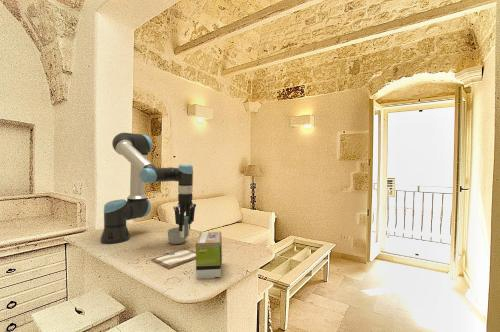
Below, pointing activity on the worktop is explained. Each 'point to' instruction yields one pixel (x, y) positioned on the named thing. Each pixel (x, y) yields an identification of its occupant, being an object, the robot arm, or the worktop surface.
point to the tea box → (209, 255)
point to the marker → (185, 226)
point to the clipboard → (175, 258)
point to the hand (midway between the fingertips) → (184, 236)
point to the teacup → (175, 236)
